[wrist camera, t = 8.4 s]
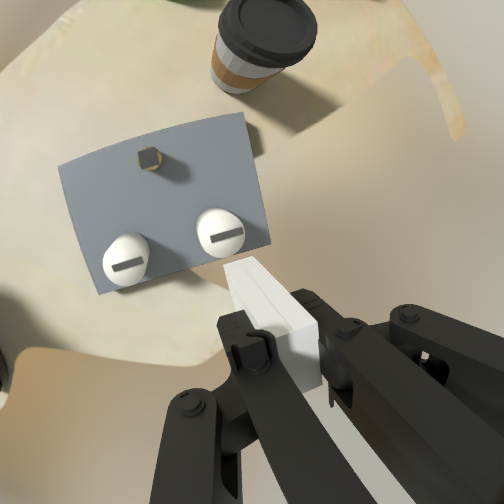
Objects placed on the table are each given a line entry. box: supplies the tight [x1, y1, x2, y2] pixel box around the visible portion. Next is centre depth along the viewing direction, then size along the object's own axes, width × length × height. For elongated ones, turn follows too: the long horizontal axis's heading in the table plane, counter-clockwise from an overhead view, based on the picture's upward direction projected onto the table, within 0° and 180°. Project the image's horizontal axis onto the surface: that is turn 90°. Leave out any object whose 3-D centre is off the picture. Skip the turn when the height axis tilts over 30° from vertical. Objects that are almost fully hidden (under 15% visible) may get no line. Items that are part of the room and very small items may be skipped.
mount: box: [58, 112, 271, 295], centre depth 31 cm, size 22×16×3 cm
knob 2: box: [196, 207, 245, 258], centre depth 30 cm, size 4×4×8 cm
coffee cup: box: [211, 0, 317, 94], centre depth 23 cm, size 8×8×15 cm
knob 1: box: [103, 232, 150, 286], centre depth 28 cm, size 4×4×8 cm
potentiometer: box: [137, 146, 163, 171], centre depth 26 cm, size 2×2×4 cm
